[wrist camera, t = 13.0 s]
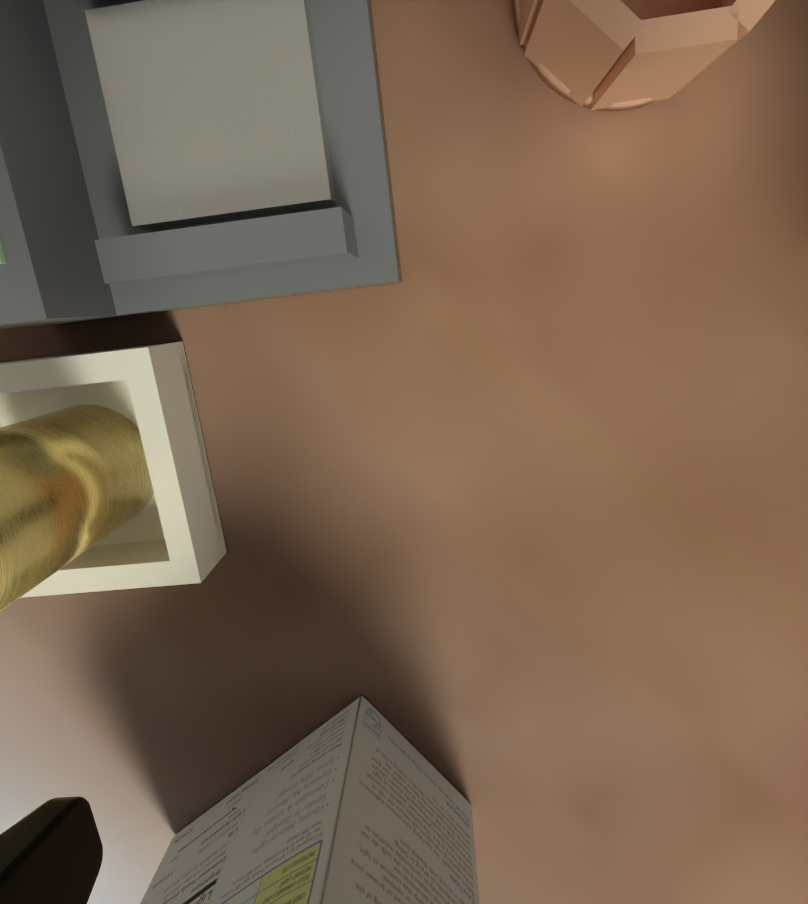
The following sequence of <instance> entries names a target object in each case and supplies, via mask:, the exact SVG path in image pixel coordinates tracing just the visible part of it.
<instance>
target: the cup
mask: <svg viewBox="0 0 808 904" xmlns="http://www.w3.org/2000/svg"><path fill="white" fill-rule="evenodd" d="M774 1H775V0H514V13H515V22H516V26H517V31H518V35H519V41H520V45H522V47H523V49H524V52H525V54H524V55H525V56H526V57H527V58H528V60H529V62H530V63H531V65H532V67H533V68H534V69H535V71H536V72H537V74H538V75H539V76H540V78H541V79H542V80H543V81H544V82H545V83H546V84H547V85H548V86H549V87H550V88H551V89H553V90H554V91H555V92H556V93H558V94H559V95H560V96H562V97H564V98H565V99H567V100H569V101H571V102H572V103H575V104H578V105H580V106H581V107H582V106H583V107H586V108H590V109H591V110H601V111H622V110H629V109H634V108H638V107H642V106H645V105H647V104H650V103H653V102H655V101H657V100H664V99H669V98H670V97H671V96H672V95H673V94H675V93H676V92H677V93H679V92H680V91H681V90H682V89H683V88H684V87H686V86H687V85H688V84H689V83H690V82H691V81H693V80H694V79H695V78H696V77H697V76H698V75H700V74H701V73H702V72H703V71H704V70H705V69H707V68H708V67H709V66H710V65H711V64H712V63H714V62H715V61H716V60H717V59H718V58H719V57H721V56H722V55H723V54H724V53H725V52H726V51H728V50H729V49H730V48H731V47H732V46H733V45H735V44H736V43H737V42H738V41H739V40H740V39H742V38H743V37H744V36H745V35H746V34H747V33H749V32H750V30H751V29H752V28H753V27H754V26H755V24H756V23H757V22H758V21H759V20H760V18H761V17H762V16H763V15H764V14H765V12H766V11H767V10H768V9H769V7H770V6H771V5H772V4H773V3H774Z"/></svg>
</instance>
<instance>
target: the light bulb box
mask: <svg viewBox="0 0 808 904" xmlns="http://www.w3.org/2000/svg"><path fill="white" fill-rule="evenodd" d="M140 904H479V896H478V884H477V872H476V857H475V846H474V834H473V821H472V809H471V805H470V804H469V802H468V801H467V800H466V799H465V798H464V797H463V796H462V795H461V794H460V793H459V792H458V791H457V790H456V789H455V788H454V787H453V786H452V785H451V784H450V783H449V782H448V781H447V780H446V779H445V778H444V777H443V776H442V775H441V774H440V773H439V772H438V771H437V770H436V769H435V768H434V767H433V766H432V765H431V764H430V763H429V762H428V761H427V760H426V759H425V758H424V757H423V756H422V755H421V754H420V753H419V752H418V751H417V750H416V749H415V748H414V747H413V746H412V745H411V744H410V743H409V742H408V741H407V740H406V739H405V738H404V737H403V736H402V734H401V733H399V732H398V731H397V730H396V729H395V728H394V727H393V726H392V725H391V724H390V723H389V722H388V721H387V720H386V719H385V718H384V717H383V716H382V715H381V714H380V713H379V712H378V711H377V710H376V709H375V708H374V707H373V706H372V705H371V704H370V703H369V702H368V701H367V700H366V699H365V698H364V697H363V696H360V697H359V698H358V699H357V700H355V701H354V702H352V703H351V704H350V705H348V706H347V707H346V708H344V709H343V710H342V711H340V712H339V713H337V714H336V715H335V716H334V717H332V718H331V719H330V720H328V721H327V722H326V723H324V724H323V725H322V726H320V727H319V728H318V729H316V730H315V731H314V732H312V733H311V734H310V735H308V736H307V737H306V738H304V739H303V740H302V741H300V742H299V743H298V744H296V745H295V746H294V747H292V748H291V749H290V750H288V751H287V752H286V753H284V754H283V755H282V756H280V757H279V758H278V759H276V760H275V761H274V762H273V763H271V764H270V765H268V766H267V767H266V768H264V769H263V770H262V771H260V772H259V773H258V774H256V775H255V776H254V777H252V778H251V779H250V780H248V781H247V782H246V783H244V784H243V785H242V786H240V787H239V788H238V789H236V790H235V791H234V792H232V793H231V794H229V795H228V796H227V797H225V798H224V799H223V800H221V801H220V802H219V803H217V804H216V805H215V806H213V807H212V808H211V809H209V810H208V811H207V812H205V813H204V814H203V815H201V816H200V817H199V818H197V819H196V820H195V821H193V822H192V823H191V824H189V825H188V826H187V827H185V828H184V829H183V830H181V831H180V832H179V833H177V834H176V835H175V836H174V837H173V838H172V840H171V843H170V845H169V847H168V849H167V851H166V853H165V855H164V857H163V859H162V861H161V863H160V865H159V867H158V869H157V871H156V873H155V875H154V877H153V879H152V881H151V883H150V885H149V887H148V889H147V892H146V894H145V895H144V897H143V899H142V901H141V903H140Z"/></svg>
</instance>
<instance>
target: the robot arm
mask: <svg viewBox="0 0 808 904" xmlns="http://www.w3.org/2000/svg"><path fill="white" fill-rule="evenodd" d="M102 856H103V848H102V843H101V839H100V836H99V833H98V830H97V827H96V823H95V820H94V817H93V814H92V811H91V807H90V805H89V802H88V801H87V800H86V799H85V798H83V797H63V798H54V799H51V800H49V801H47V802H45V803H44V804H42V805H41V806H40V807H38V808H37V809H35V810H34V811H33V812H31V813H30V814H28V815H27V816H26V817H24V818H23V819H22V820H20V821H19V822H17V823H16V824H15V825H13V826H12V827H10V828H9V829H8V830H6V831H5V832H3V833H2V834H1V835H0V904H87V902H88V899H89V896H90V894H91V891H92V889H93V886H94V883H95V881H96V878H97V876H98V873H99V870H100V867H101V863H102Z"/></svg>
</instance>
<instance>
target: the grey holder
mask: <svg viewBox="0 0 808 904" xmlns="http://www.w3.org/2000/svg"><path fill="white" fill-rule="evenodd" d="M138 1H143V0H0V329H3V328H17V327H32V326H46V325H57V324H65V323H73V322H81V321H89V320H97V319H105V318H114V317H122V316H130V315H138V314H146V313H154V312H163V311H171V310H179V309H187V308H195V307H203V306H211V305H220V304H228V303H236V302H244V301H252V300H260V299H268V298H277V297H285V296H293V295H301V294H309V293H317V292H325V291H334V290H342V289H350V288H358V287H366V286H374V285H382V284H391V283H399V282H402V277H401V268H400V259H399V250H398V241H397V232H396V224H395V215H394V206H393V197H392V188H391V179H390V170H389V161H388V152H387V143H386V134H385V125H384V116H383V107H382V98H381V90H380V81H379V72H378V63H377V54H376V45H375V36H374V27H373V18H372V9H371V0H309V5H310V12H311V20H312V27H313V35H314V42H315V49H316V57H317V64H318V72H319V79H320V86H321V94H322V101H323V109H324V116H325V123H326V131H327V138H328V146H329V153H330V160H331V168H332V175H333V183H334V190H335V197H336V204H334V205H327V206H319V207H312V208H305V209H297V210H290V211H282V212H275V213H268V214H260V215H253V216H246V217H238V218H231V219H224V220H216V221H209V222H201V223H194V224H187V225H179V226H172V227H165V228H157V229H150V230H146V229H142V228H138V227H133V226H132V223H131V218H130V214H129V209H128V205H127V200H126V196H125V191H124V187H123V182H122V178H121V173H120V169H119V164H118V159H117V155H116V150H115V146H114V141H113V137H112V132H111V128H110V123H109V119H108V114H107V109H106V105H105V100H104V96H103V91H102V87H101V82H100V78H99V73H98V69H97V64H96V59H95V55H94V50H93V46H92V41H91V37H90V32H89V28H88V23H87V19H86V14H85V10H91V9H97V8H103V7H108V6H114V5H120V4H126V3H132V2H138Z"/></svg>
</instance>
